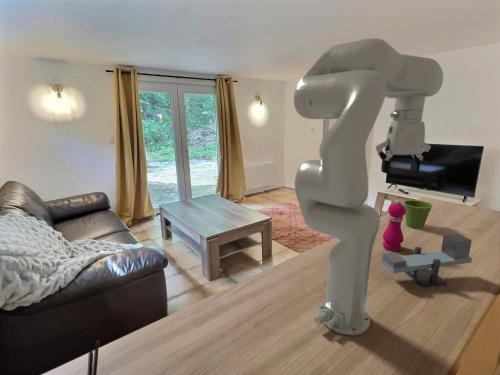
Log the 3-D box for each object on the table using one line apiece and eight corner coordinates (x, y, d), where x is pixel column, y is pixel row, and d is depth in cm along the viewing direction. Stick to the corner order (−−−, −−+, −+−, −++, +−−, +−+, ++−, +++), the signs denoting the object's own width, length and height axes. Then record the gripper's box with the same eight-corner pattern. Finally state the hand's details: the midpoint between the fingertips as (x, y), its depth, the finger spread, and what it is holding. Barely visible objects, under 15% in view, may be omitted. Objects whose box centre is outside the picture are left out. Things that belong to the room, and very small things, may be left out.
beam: (393, 273, 81) (394, 263, 80) (381, 262, 86) (382, 253, 85) (471, 262, 83) (473, 252, 82) (454, 253, 89) (456, 243, 88)
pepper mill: (404, 253, 101) (412, 203, 96) (384, 251, 103) (390, 202, 98) (398, 244, 108) (405, 197, 103) (379, 242, 110) (385, 196, 104)
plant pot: (401, 219, 134) (404, 198, 131) (429, 224, 127) (433, 202, 124) (398, 227, 124) (401, 204, 122) (428, 233, 118) (432, 209, 115)
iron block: (454, 259, 82) (456, 241, 81) (441, 251, 87) (443, 235, 86) (468, 257, 83) (471, 240, 81) (455, 249, 88) (457, 233, 86)
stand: (422, 287, 81) (427, 262, 79) (401, 269, 90) (405, 247, 88) (446, 285, 82) (451, 260, 80) (423, 268, 91) (427, 245, 89)
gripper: (387, 116, 76) (380, 175, 80) (444, 116, 77) (434, 174, 81) (373, 117, 83) (367, 170, 87) (425, 117, 84) (417, 169, 89)
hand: (399, 172), depth 84 cm, fingers open, 9 cm apart
